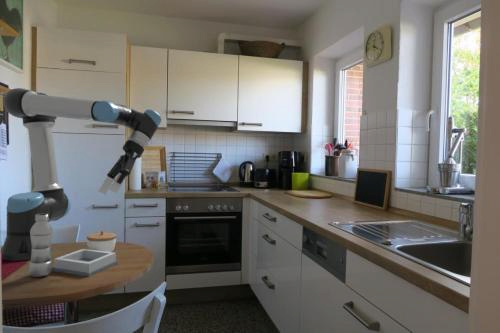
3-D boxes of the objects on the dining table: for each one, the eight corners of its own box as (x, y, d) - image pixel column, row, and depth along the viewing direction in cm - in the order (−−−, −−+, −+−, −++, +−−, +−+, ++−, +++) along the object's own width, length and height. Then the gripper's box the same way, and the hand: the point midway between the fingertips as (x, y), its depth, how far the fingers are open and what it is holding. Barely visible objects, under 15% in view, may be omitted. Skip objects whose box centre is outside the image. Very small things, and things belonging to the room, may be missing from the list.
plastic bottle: (48, 270, 118) (50, 212, 118) (54, 276, 114) (55, 215, 113) (26, 274, 114) (27, 213, 113) (31, 280, 109) (32, 217, 108)
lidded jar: (95, 260, 132) (96, 235, 132) (81, 254, 138) (81, 230, 138) (121, 254, 140) (121, 231, 140) (106, 249, 147) (107, 227, 147)
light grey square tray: (51, 270, 119) (51, 259, 119) (83, 258, 133) (83, 248, 133) (89, 276, 115) (89, 264, 115) (117, 263, 129) (117, 252, 129)
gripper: (156, 145, 129) (127, 195, 121) (132, 154, 149) (106, 197, 141) (139, 133, 126) (108, 184, 117) (117, 144, 145) (89, 188, 137)
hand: (106, 192), depth 129 cm, fingers open, 13 cm apart
